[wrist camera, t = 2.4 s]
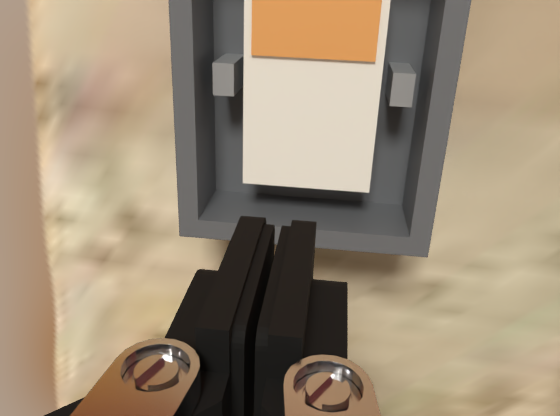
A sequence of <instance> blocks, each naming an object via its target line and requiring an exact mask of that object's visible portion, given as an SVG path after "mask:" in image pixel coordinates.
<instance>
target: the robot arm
mask: <svg viewBox="0 0 560 416" xmlns="http://www.w3.org/2000/svg"><path fill="white" fill-rule="evenodd" d="M316 224H317V222H313V221H301V220H292V222H291V226H283V225H282V227H281V231H280V235H279V239H278V243H277V247H276V251H275V255H274V243H275V225H271V224H266V218H264V217H251V216H240V218H239V221H238V223H237V226H236V228H235V231H234V233H233V236H232V238H231V240H230V243H229V245H228V248H227V250H226V253H225V255H224V258H223V260H222V262H221V265H220V267H219V270H218V271H215V270H204V269H199V270H197V272H196V273H195V276H194V278H193V280H192V282H191V284H190V286H189V288H188V290H187V292H186V294H185V297H184V299H183V301H182V303H181V305H180V307H179V309H178V311H177V313H176V315H175V318H174V320H173V322H172V324H171V326H170V328H169V330H168V332H167V334H166V336H165V338H158V339H149V340H146V341H143V342H139V343H136V344H135V345H133V346H131V347H129V348H127V349H125V350H124V351H123V352H122V353H121V354H120V355H119V356H118V357H117V358H116V359H115V360H114V362H113V363H112V364H111V365H110V367H109V368H108V369H107V370H106V372H105V373H104V374H103V375H102V376H101V378H100V379H99V380H98V381H97V383H96V384H95V385H94V386H93V388H92V389H91V390H90V391H89V393H88V394H87V395H86V396H85V397H84V398H82V399H80V400H78V401H75V402H73V403H71V404H69V405H67V406H64V407H62V408H60V409H58V410H56V411H53V412H51V413H49V414H47V415H45V416H381V414H380V410H379V406H378V403H377V399H376V395H375V391H374V387H373V384H372V382H371V380H370V378H369V376H368V374H367V373H366V372H365V371H364V370H363V369H362V368H361V367H360V366H358V365H357V364H355V363H353V362H352V361H350V360H347V282H337V281H326V280H315V279H313V268H314V253H315V239H316Z"/></svg>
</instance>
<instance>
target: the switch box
mask: <svg viewBox="0 0 560 416" xmlns="http://www.w3.org/2000/svg"><path fill="white" fill-rule="evenodd" d="M470 5H471V0H391V2H390V11H389V20H388V29H387V38H386V47H385V56H384V65H383V73H382V82H381V91H380V100H379V109H378V118H377V127H376V136H375V145H374V154H373V163H372V172H371V180H370V189H369V193H366V192H352V191H339V190H326V189H313V188H300V187H286V186H273V185H260V184H247V183H243V77H244V0H169V18H170V40H171V62H172V83H173V105H174V127H175V148H176V170H177V191H178V213H179V235H180V236H184V237H196V238H208V239H219V240H231V238H232V236H233V233H234V231H235V228H236V226H237V223H238V221H239V218H240V216H251V217H264V218H266V224H271V225H275V243H274V244H277V243H278V239H279V235H280V231H281V227H282V225H283V226H291V222H292V220H301V221H313V222H317V224H316V239H315V248H324V249H336V250H348V251H359V252H371V253H383V254H394V255H406V256H418V257H428V252H429V246H430V241H431V235H432V229H433V223H434V217H435V211H436V205H437V199H438V193H439V188H440V182H441V176H442V170H443V164H444V158H445V152H446V146H447V140H448V134H449V129H450V123H451V117H452V111H453V105H454V99H455V93H456V87H457V81H458V75H459V70H460V64H461V58H462V52H463V46H464V40H465V34H466V28H467V22H468V17H469V11H470Z"/></svg>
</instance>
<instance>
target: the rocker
mask: <svg viewBox="0 0 560 416" xmlns="http://www.w3.org/2000/svg"><path fill="white" fill-rule="evenodd" d="M390 2H391V0H244V77H243V183H247V184H260V185H273V186H286V187H300V188H313V189H326V190H339V191H352V192H366V193H369V189H370V180H371V172H372V163H373V154H374V145H375V136H376V127H377V118H378V109H379V100H380V91H381V82H382V73H383V65H384V56H385V47H386V38H387V29H388V20H389V11H390Z"/></svg>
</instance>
